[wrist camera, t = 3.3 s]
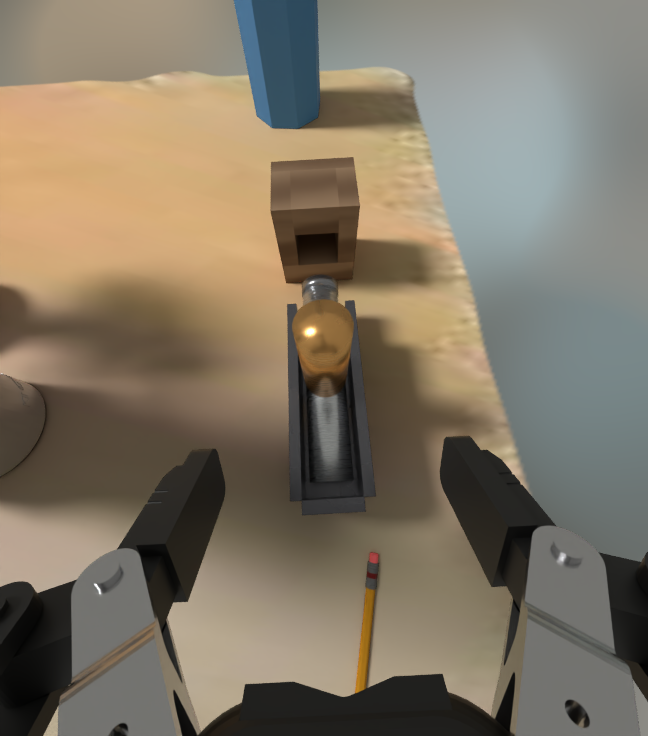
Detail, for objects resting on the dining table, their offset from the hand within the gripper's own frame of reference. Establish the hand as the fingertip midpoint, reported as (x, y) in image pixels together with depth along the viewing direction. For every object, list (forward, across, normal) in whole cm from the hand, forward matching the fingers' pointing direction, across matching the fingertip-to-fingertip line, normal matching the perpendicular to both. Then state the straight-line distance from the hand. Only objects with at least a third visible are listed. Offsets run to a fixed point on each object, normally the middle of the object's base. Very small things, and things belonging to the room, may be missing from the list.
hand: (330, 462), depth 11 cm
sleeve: (+14, 0, +7) cm, 16 cm away
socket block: (+27, 0, -5) cm, 27 cm away
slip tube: (+14, 0, +3) cm, 14 cm away
